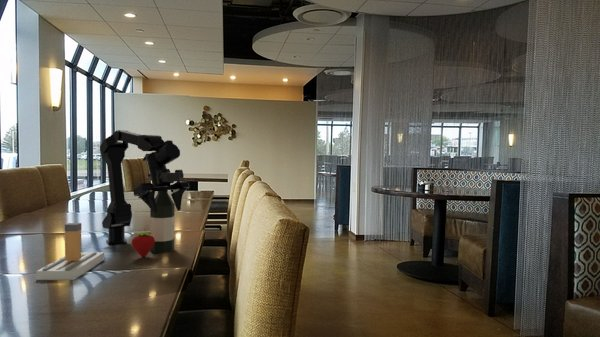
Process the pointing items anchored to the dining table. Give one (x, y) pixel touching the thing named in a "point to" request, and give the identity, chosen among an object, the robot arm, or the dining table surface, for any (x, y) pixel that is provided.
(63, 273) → the dimmer console
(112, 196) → the robot arm
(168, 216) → the wine bottle
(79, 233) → the fader lever
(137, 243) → the strawberry
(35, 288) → the dining table surface
